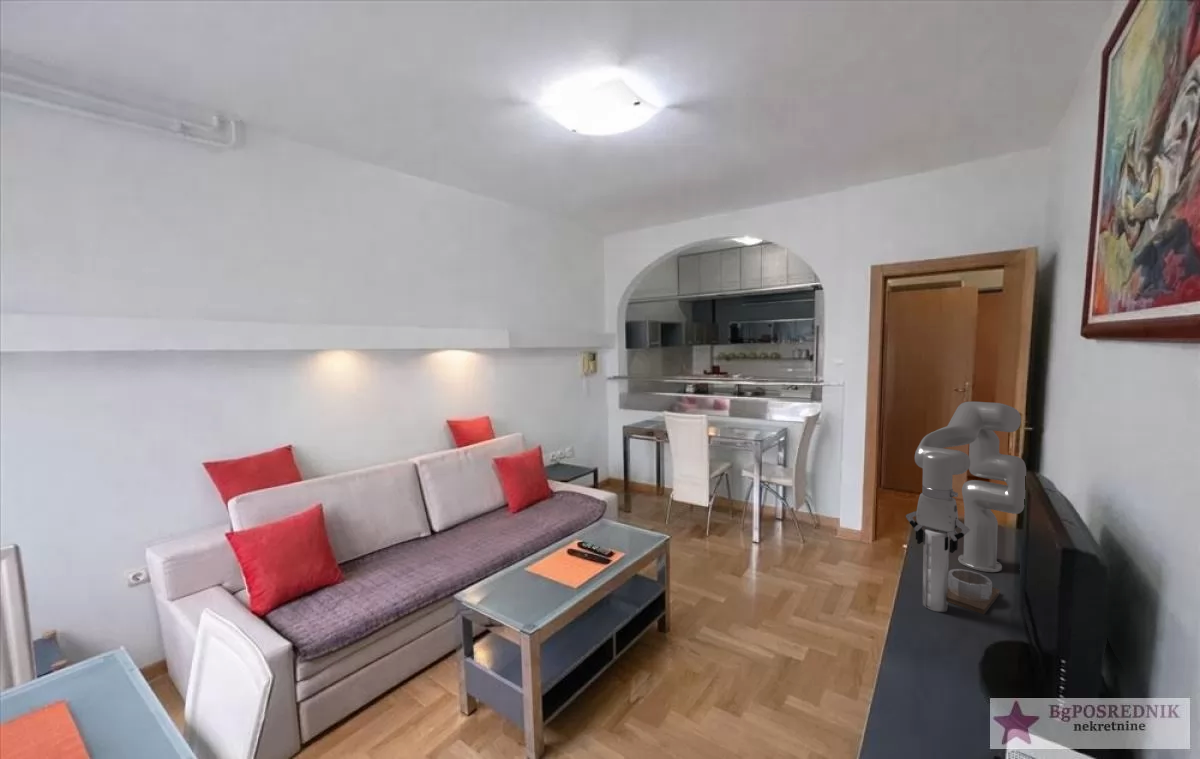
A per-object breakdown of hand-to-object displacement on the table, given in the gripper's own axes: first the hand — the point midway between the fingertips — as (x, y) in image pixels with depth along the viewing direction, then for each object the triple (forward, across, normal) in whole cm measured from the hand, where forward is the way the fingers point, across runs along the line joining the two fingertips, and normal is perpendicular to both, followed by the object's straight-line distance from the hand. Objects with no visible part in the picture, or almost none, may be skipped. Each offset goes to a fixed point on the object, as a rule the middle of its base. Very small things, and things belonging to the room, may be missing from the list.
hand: (936, 546), depth 146 cm
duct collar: (+19, -5, -15) cm, 25 cm away
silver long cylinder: (+20, 0, 0) cm, 20 cm away
